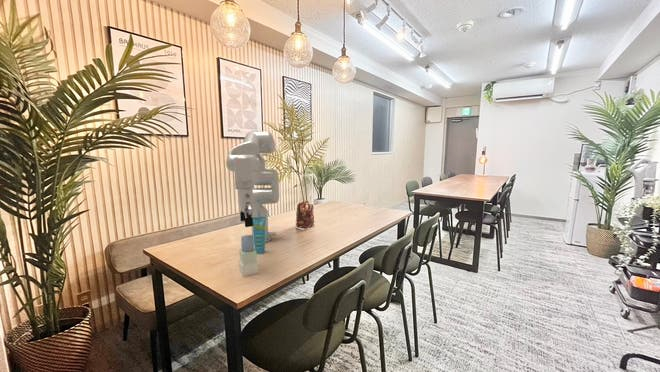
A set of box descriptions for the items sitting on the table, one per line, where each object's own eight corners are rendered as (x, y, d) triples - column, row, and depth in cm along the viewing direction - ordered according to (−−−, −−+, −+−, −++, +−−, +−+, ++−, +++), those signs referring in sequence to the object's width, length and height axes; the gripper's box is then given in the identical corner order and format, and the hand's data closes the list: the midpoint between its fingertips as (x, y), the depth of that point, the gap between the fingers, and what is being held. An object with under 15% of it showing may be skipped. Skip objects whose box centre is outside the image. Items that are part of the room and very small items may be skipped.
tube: (252, 254, 140) (250, 218, 137) (253, 251, 145) (251, 216, 142) (267, 253, 142) (265, 217, 139) (267, 249, 146) (265, 215, 144)
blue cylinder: (252, 247, 123) (251, 234, 122) (255, 250, 118) (254, 237, 118) (240, 249, 120) (239, 236, 120) (243, 253, 116) (242, 239, 115)
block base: (254, 266, 125) (254, 256, 125) (258, 272, 119) (258, 262, 119) (239, 270, 122) (238, 259, 121) (242, 276, 116) (241, 265, 115)
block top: (253, 257, 124) (252, 246, 123) (256, 262, 119) (256, 251, 118) (239, 260, 121) (239, 249, 120) (242, 264, 116) (242, 253, 115)
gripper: (258, 187, 110) (260, 227, 113) (249, 181, 125) (250, 217, 128) (239, 188, 106) (241, 230, 109) (232, 183, 121) (234, 219, 124)
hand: (246, 223), depth 118 cm, fingers open, 9 cm apart
